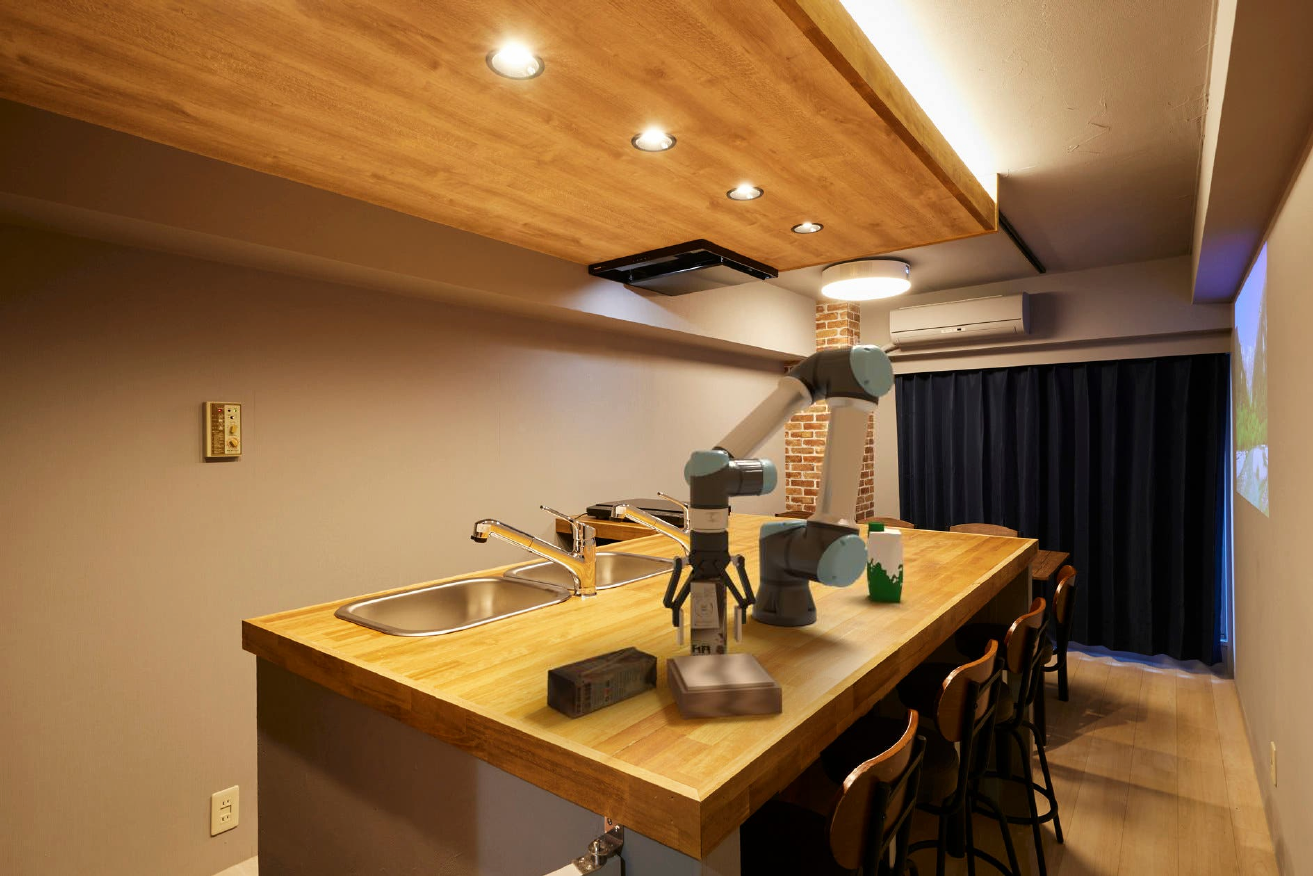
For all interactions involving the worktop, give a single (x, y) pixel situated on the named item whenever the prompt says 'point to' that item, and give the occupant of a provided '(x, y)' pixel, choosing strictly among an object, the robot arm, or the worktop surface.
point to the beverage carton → (600, 681)
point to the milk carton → (884, 563)
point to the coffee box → (708, 617)
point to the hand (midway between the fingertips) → (709, 641)
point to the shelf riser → (722, 686)
